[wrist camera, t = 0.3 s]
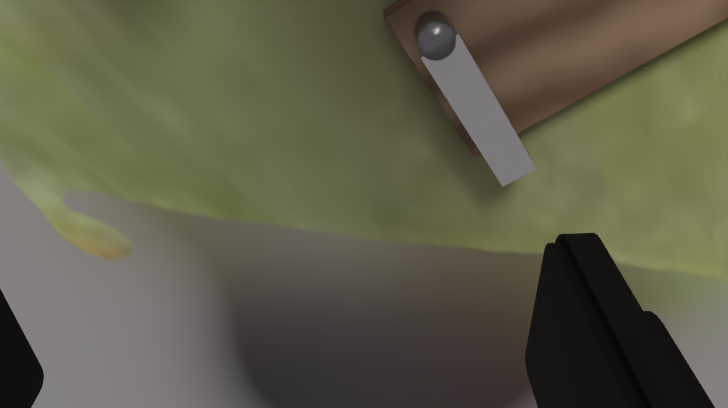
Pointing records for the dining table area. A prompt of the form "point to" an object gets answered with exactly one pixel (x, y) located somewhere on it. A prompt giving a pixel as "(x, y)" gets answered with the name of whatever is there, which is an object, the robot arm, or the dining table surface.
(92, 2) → the dining table surface
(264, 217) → the dining table surface
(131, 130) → the dining table surface
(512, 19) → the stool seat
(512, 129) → the folding leg
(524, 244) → the dining table surface
